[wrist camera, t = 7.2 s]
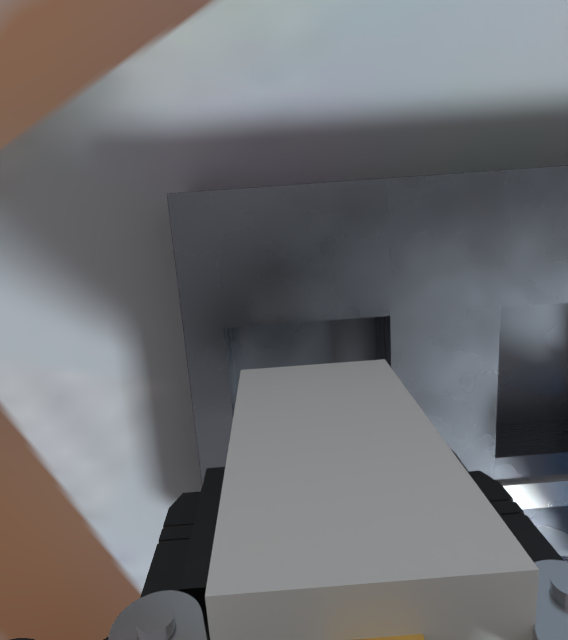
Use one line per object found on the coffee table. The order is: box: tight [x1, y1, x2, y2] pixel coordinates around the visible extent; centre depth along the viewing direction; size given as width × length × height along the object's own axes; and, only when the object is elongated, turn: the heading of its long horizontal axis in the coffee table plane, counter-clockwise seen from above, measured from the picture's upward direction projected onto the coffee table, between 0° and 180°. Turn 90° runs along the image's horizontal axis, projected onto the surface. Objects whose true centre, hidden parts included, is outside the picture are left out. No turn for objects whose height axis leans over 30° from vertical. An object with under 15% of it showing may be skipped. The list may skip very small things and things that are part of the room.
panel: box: [167, 165, 568, 557], centre depth 18 cm, size 17×14×3 cm
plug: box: [205, 359, 539, 640], centre depth 10 cm, size 4×4×9 cm
